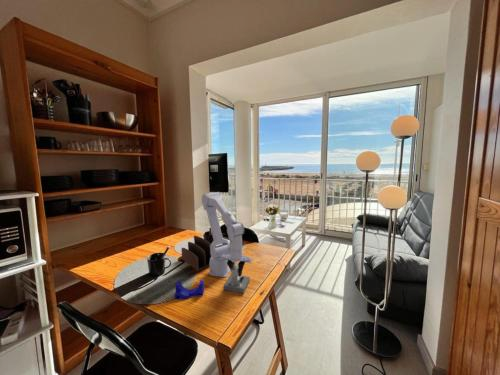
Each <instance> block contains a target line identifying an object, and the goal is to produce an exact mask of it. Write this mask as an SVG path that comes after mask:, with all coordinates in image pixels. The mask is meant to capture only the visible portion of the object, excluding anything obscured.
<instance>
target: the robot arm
mask: <svg viewBox="0 0 500 375" xmlns="http://www.w3.org/2000/svg"><path fill="white" fill-rule="evenodd" d="M223 200H224V198H223V195H222V192H220V191H217V192H211V193H210V192H209V193H203V194H202V196H201V204H202V207H203V210H204V211H206V213H207V214H206V215H207V219H208V223H209V226H210V231H211V235H212V239H213V240H212V242H210V243H211V245H210V253H211V256H212V257H211V258H210V262H209V265H210V266H209V274H208V275H209V276H215V277H220V278H226V277H227V276H228V274H229V273H231V269H232V268H233V266H234V265H235V263H238V267H239V276H241V275H242V276H243V269H244V266H245V264H246V263H248V264H251V263H252V261H253V259H252V257H249V256H246V255H243V235H244V234H245V226H244V224H243V223H242V222H241V221H239V220H237V219H236V217H235V215H234V214H233V213H232V212H231V211H228V209H227V207H226V204H225V203H224V202H223ZM217 211H218V212H219V214H220V216H221V220H222V222H223V223H224V225H225V227H226V233H227V236H228V239H226V238H223V234H222V230H221V226H220V221H219V218H218V214H217ZM228 240H229V241H228Z"/></svg>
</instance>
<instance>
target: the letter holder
mask: <svg viewBox="0 0 500 375" xmlns="http://www.w3.org/2000/svg"><path fill="white" fill-rule="evenodd" d="M193 241H194V242H191V241H188V242H187V247H188V248H186V247H181V260H183V261H184V262H185V263H186V264H188V265H189V266H190V267H192V268H193V269H194V270H196V271H197V272H199V271H202V270H203V269H206V268H210V265H209V262H210V258H211V257H212V256H211V253H210V245H211V243H212V242H209V241H208V240H207V239H204V238H203V237H201V236H198V235H194V236H193Z"/></svg>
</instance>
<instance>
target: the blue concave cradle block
mask: <svg viewBox="0 0 500 375" xmlns="http://www.w3.org/2000/svg"><path fill="white" fill-rule="evenodd" d="M204 283H205V282H204V279H200V280H199V284H198V286H196V288H193V289H188V288H186V287H185V286H183V285H182V282H181V280H176V283H175V285H174V287H175V291H174V299H175V300H188V299H190V297H203V296H204V294H205V286H204Z"/></svg>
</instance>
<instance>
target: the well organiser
mask: <svg viewBox="0 0 500 375" xmlns="http://www.w3.org/2000/svg"><path fill="white" fill-rule="evenodd" d="M250 279H251V278H250V276H246V275H242V277H241V279H240V281H239V283H238V284H233V283H232V278H231V274H230V275H229V276H228V277H227V279H226V280H225V282H224V283H223V287H222V288H223V292H224V291H226V292H231V293H237V294H245V292H246V290H247V288H248V286H249V283H250V281H251V280H250Z"/></svg>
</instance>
